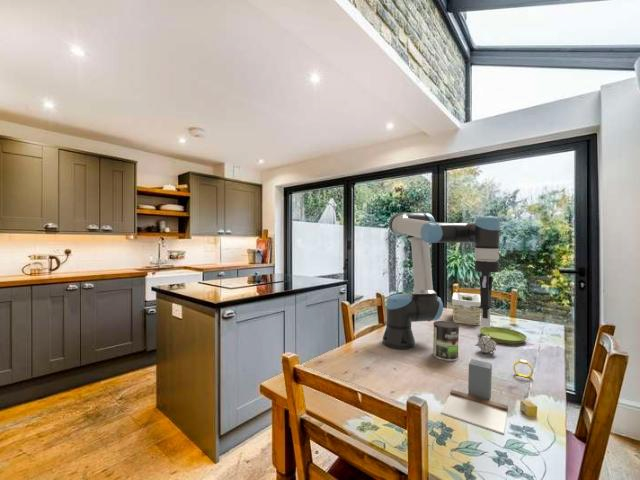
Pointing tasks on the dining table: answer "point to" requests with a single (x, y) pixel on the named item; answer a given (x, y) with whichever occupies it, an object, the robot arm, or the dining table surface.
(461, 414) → the mat
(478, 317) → the storage basket
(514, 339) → the saucer
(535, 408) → the alphabet block
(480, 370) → the tall block
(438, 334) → the coffee can
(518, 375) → the watch
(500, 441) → the dining table surface
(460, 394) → the bar
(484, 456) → the dining table surface
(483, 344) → the game die
